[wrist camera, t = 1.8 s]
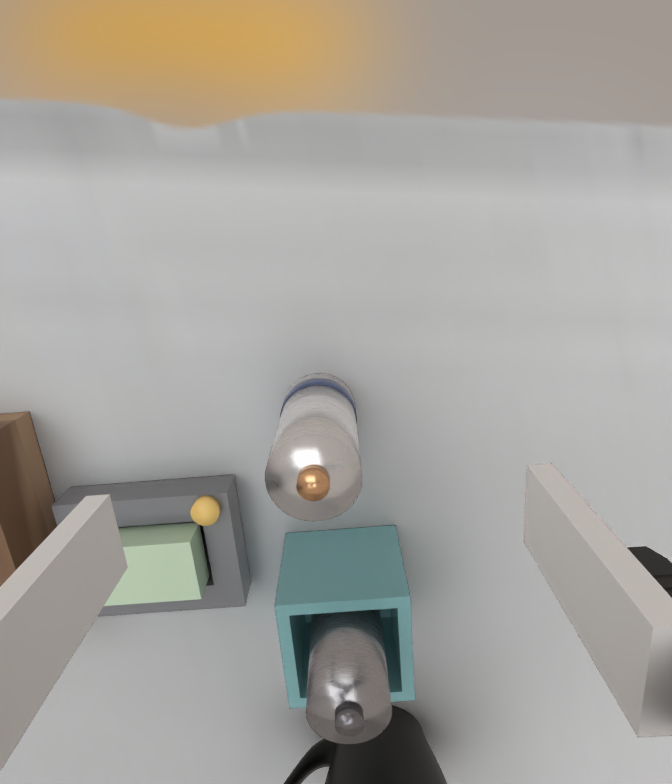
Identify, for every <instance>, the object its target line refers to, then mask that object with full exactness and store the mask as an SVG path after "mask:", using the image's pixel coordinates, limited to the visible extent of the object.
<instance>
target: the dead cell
mask: <svg viewBox="0 0 672 784" xmlns="http://www.w3.org/2000/svg"><path fill="white" fill-rule="evenodd" d="M391 716H392V705H391V697H390V688H389V680H388V672H387V664H386V655H385V647H384V639H383V631H382V622H381V614H380V609H376V610H362V611H348V612H334V613H320V614H312V615H311V633H310V650H309V667H308V684H307V702H306V717H307V720H308V723H309V725H310V726H311V728H312V729H313V730H314V731H315V732H316V733H317V734H318V735H320V736H321V737H323V738H324V739H326V740H329V741H332V742H335V743H340V744H357V743H362V742H365V741H368V740H371V739H373V738H375V737H376V736H378V735H379V734H380V733H382V732H383V731H384V730H385V728H386V727H387V726H388V724H389V722H390V720H391Z"/></svg>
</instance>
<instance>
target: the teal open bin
mask: <svg viewBox="0 0 672 784" xmlns="http://www.w3.org/2000/svg"><path fill="white" fill-rule="evenodd" d="M376 609H380V614H381V622H382V631H383V639H384V647H385V655H386V664H387V672H388V680H389V688H390V697H391V702H395V701H411V700H415V693H414V671H413V649H412V627H411V605H410V593H409V589H408V584H407V579H406V574H405V569H404V564H403V560H402V555H401V550H400V545H399V540H398V536H397V531H396V526H395V525H389V526H376V527H362V528H349V529H335V530H322V531H308V532H295V533H286V536H285V542H284V549H283V555H282V561H281V568H280V574H279V580H278V587H277V593H276V599H275V613H276V620H277V627H278V634H279V640H280V647H281V654H282V661H283V668H284V675H285V682H286V688H287V695H288V702H289V709H290V708H305V707H306V702H307V684H308V667H309V650H310V633H311V615H312V614H320V613H334V612H348V611H362V610H376Z"/></svg>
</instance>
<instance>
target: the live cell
mask: <svg viewBox="0 0 672 784" xmlns="http://www.w3.org/2000/svg"><path fill="white" fill-rule="evenodd" d="M356 424H357V416H356V408H355V404H354V400H353V396H352V394H351V392H350V390H349V388H348V387H347V386H346V385H345V384H344V383H343V382H342V381H341V380H339V379H338V378H336V377H334V376H332V375H328V374H322V373H316V374H310V375H307V376H305V377H303V378H301V379H299V380H298V381H297V382H295V383H294V384H293V385H292V387H291V388H290V390H289V392H288V394H287V396H286V398H285V400H284V403H283V406H282V410H281V415H280V421H279V424H278V428H277V431H276V435H275V438H274V442H273V445H272V449H271V452H270V456H269V459H268V463H267V466H266V471H265V483H266V488H267V491H268V494H269V495H270V497H271V499H272V500H273V502H274V503H275V504H276V505H277V506H278V507H279V508H280V509H281V510H282V511H283V512H285V513H286V514H288V515H290V516H292V517H294V518H297V519H300V520H305V521H323V520H328V519H331V518H334V517H336V516H338V515H340V514H342V513H343V512H345V511H346V510H347V509H348V508H349V507H351V505H352V504H353V503H354V502H355V500H356V499H357V497H358V495H359V493H360V490H361V486H362V469H361V460H360V451H359V443H358V434H357V425H356Z"/></svg>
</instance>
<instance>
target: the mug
mask: <svg viewBox="0 0 672 784" xmlns="http://www.w3.org/2000/svg"><path fill="white" fill-rule="evenodd" d="M322 767H329V771H328V774H327V778H326V782H325V784H447V782H446V780H445V778H444V775H443V773H442V771H441V768H440V766H439V764H438V762H437V760H436V758H435V756H434V754H433V752H432V750H431V748H430V746H429V744H428V742H427V740H426V738H425V736H424V734H423V732H422V729H421V727H420V725H419V723H418V721H417V720H416V719H415V718H414V717H413V716H412V715H411V714H409V713H408V712H406V711H405V710H403V709H400V708H397V707H394V706H392V716H391V720H390V722H389V724H388V726H387V727H386V728H385V730H384V731H383V732H382V733H380V734H379V735H378V736H376V737H375V738H373V739H371V740H368V741H365V742H362V743H357V744H340V743H335V742H332V741H329V740H326V739H323V740H321V741H319V742H318V743H316V744H315V745H314V746H313V747H312V748H311V749H310V750H309V751H308V752H307V753H306V754H305V755H304V757H303V758H302V759H301V760H300V762H299V763H298V764H297V766H296V767H295V769H294V770H293V771H292V773H291V774H290V775H289V777H288V778H287V780H286V781H285V783H284V784H301V783H302V782H303V781H304V779H305V778H306V777H307V776H309V775H310V774H311V773H312V772H314V771H315V770H317V769H319V768H322Z"/></svg>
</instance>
